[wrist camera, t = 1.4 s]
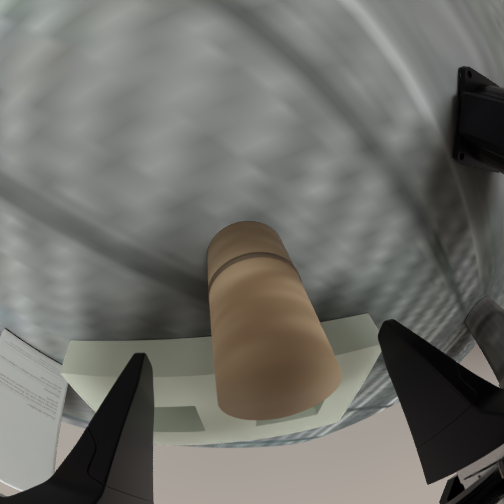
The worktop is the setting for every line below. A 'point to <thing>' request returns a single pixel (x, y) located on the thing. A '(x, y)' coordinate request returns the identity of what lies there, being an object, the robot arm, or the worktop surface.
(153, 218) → the worktop surface
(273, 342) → the peg
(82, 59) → the worktop surface
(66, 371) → the board
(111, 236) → the worktop surface
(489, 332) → the beverage cup
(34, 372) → the supplement box
